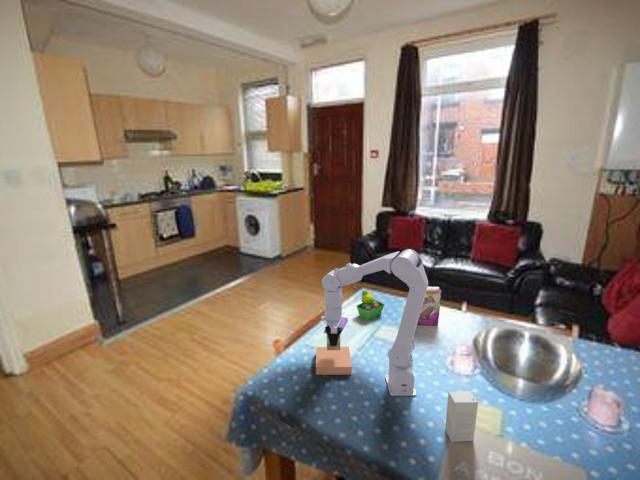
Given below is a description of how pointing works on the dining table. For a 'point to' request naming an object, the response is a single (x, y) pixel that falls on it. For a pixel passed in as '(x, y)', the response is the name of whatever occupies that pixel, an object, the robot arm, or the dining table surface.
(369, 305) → the fruit basket
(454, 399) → the skincare box
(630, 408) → the dining table surface
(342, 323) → the sponges
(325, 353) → the terracotta plinth
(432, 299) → the candy bar box
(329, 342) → the beech block
